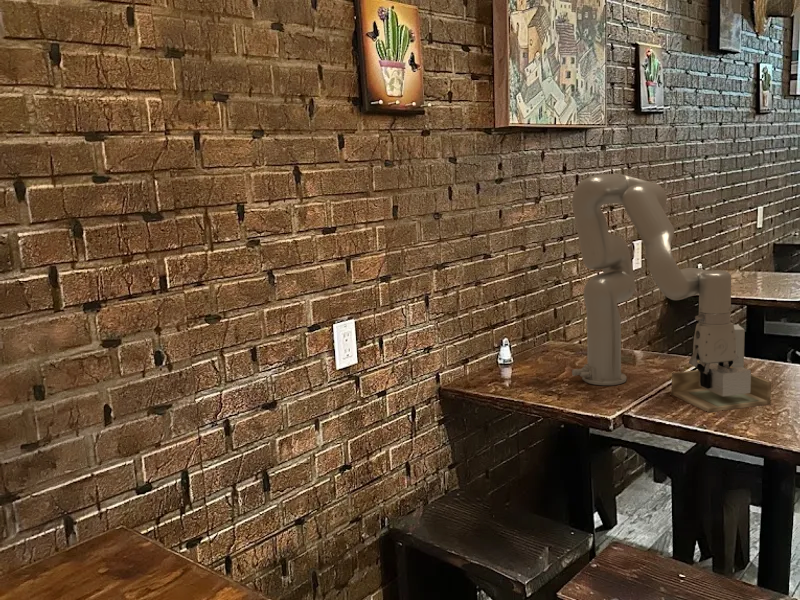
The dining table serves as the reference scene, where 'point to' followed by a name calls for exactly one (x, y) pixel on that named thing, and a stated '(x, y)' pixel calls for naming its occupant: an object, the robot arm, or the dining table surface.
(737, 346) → the supplement box
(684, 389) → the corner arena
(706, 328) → the robot arm
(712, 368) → the bracket
